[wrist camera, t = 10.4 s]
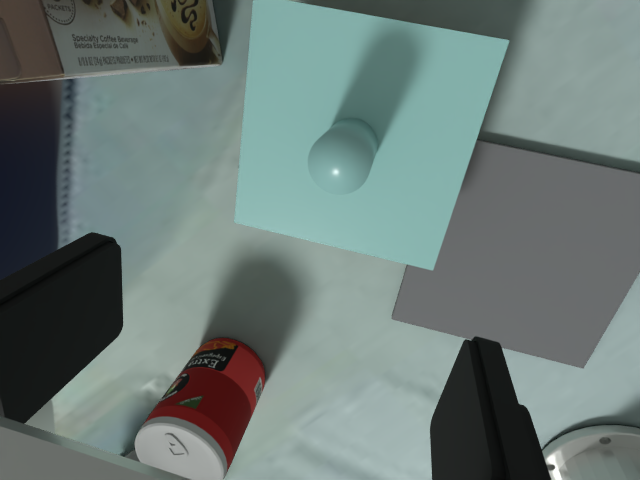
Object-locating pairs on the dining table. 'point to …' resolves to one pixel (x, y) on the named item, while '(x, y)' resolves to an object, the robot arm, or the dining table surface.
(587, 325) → the mat
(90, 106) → the dining table surface
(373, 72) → the lid
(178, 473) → the canned food
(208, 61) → the coffee box
